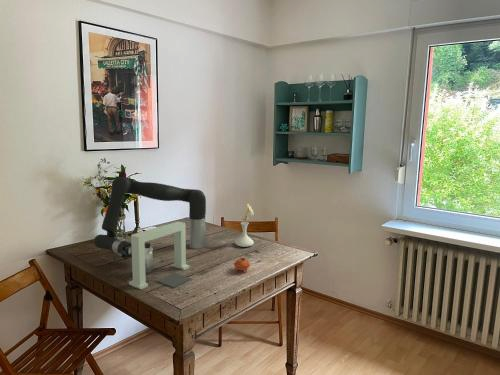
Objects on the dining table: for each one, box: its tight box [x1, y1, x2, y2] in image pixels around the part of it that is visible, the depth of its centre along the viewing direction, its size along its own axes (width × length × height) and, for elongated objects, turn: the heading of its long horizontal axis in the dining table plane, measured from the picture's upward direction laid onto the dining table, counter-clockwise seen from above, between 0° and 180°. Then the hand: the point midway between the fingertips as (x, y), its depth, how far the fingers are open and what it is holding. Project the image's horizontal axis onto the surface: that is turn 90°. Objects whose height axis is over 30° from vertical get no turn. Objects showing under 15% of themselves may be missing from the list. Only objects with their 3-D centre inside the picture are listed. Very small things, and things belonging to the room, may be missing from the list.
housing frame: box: [128, 221, 190, 290], centre depth 168 cm, size 8×30×23 cm, turn 145°
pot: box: [233, 257, 251, 273], centre depth 178 cm, size 8×8×7 cm
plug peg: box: [144, 242, 154, 274], centre depth 174 cm, size 4×4×14 cm
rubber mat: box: [156, 272, 192, 289], centre depth 165 cm, size 11×11×1 cm
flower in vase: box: [234, 203, 255, 248], centre depth 214 cm, size 13×11×25 cm
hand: (143, 254), depth 176 cm, fingers open, 8 cm apart
